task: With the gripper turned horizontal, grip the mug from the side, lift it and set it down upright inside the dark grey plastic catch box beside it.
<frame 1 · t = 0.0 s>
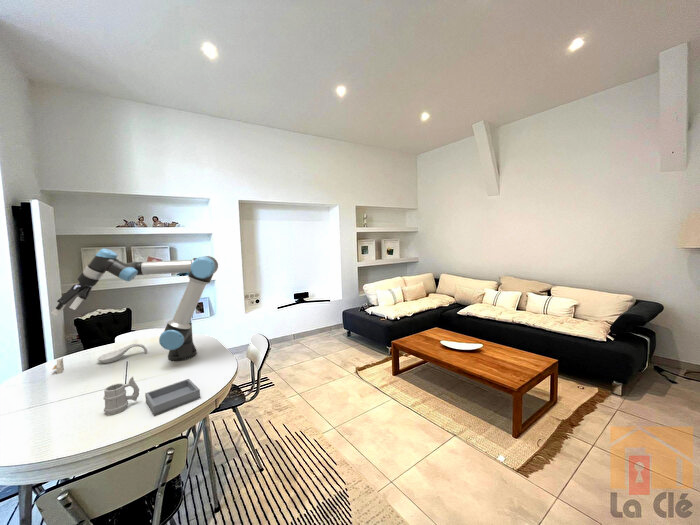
hand: (63, 311, 141), 36 cm above the table, tool tilted 35°, fingers open, 13 cm apart
architectural model: (60, 373, 154), on the table
catch box: (173, 400, 122), on the table
mug: (122, 408, 117), on the table
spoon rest: (123, 358, 171), on the table
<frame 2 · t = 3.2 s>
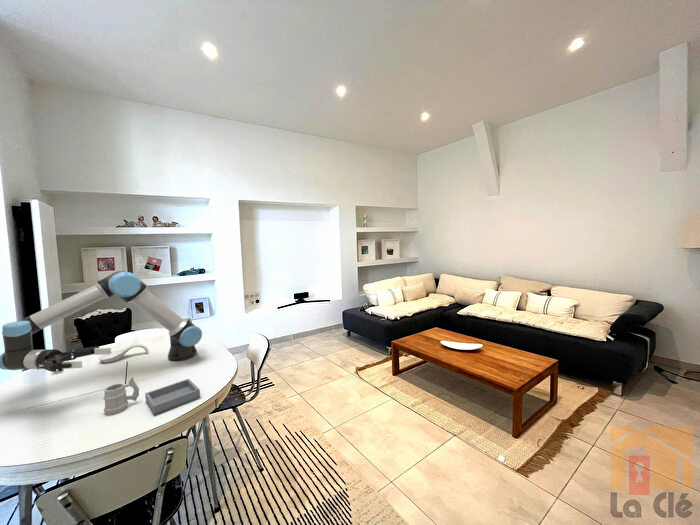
hand: (96, 357, 115), 22 cm above the table, tool horizontal, fingers open, 13 cm apart
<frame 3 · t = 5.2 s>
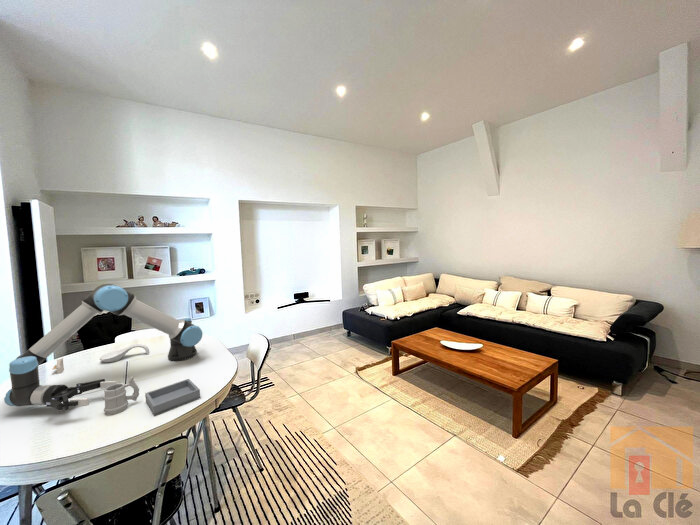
hand: (102, 392, 116), 7 cm above the table, tool horizontal, fingers open, 13 cm apart
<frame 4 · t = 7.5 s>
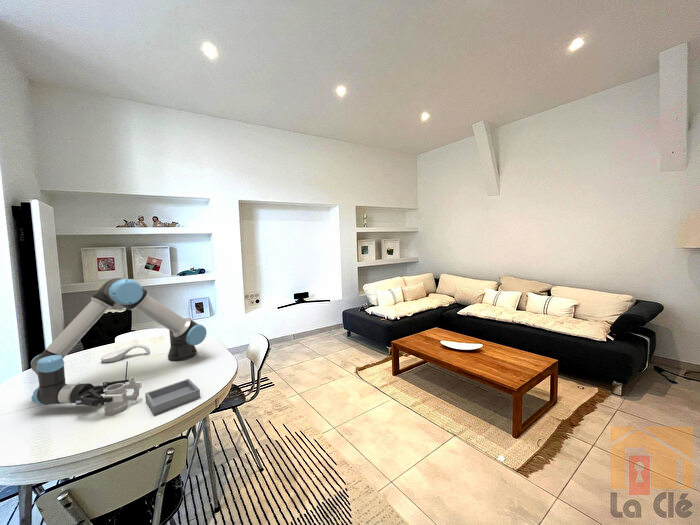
hand: (131, 391, 117), 7 cm above the table, tool horizontal, fingers closed on mug, 10 cm apart
mug: (123, 408, 117), on the table, touching gripper
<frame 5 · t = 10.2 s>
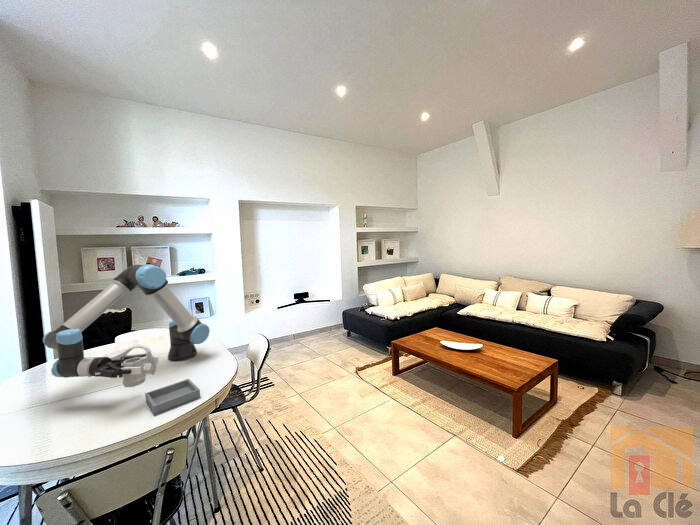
hand: (149, 364, 117), 18 cm above the table, tool horizontal, fingers closed on mug, 10 cm apart
mug: (140, 381, 117), point 11 cm above the table, touching gripper
when the fingers open (9 cm above the table, at t = 13.2 s): mug drops 1 cm, resting on catch box.
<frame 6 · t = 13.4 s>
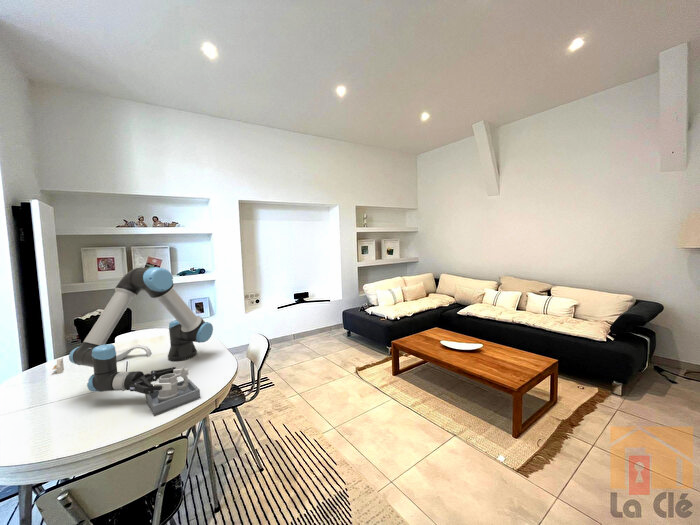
hand: (180, 378, 121), 9 cm above the table, tool horizontal, fingers open, 12 cm apart
mug: (173, 397, 122), point 1 cm above the table, touching catch box
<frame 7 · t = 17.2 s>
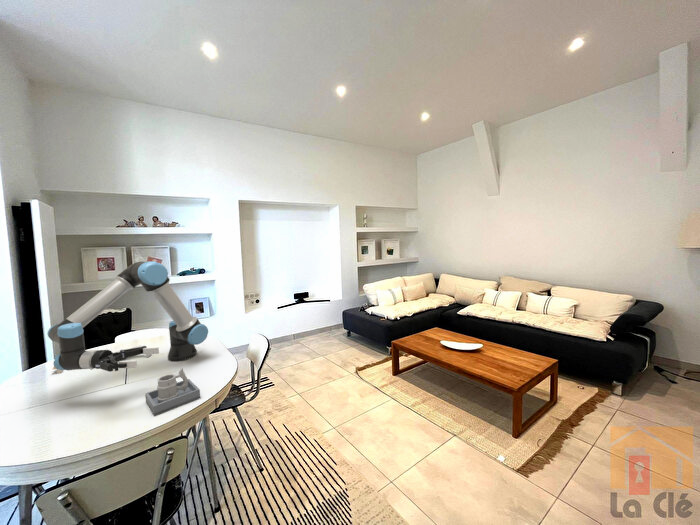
hand: (147, 356, 120), 20 cm above the table, tool horizontal, fingers open, 13 cm apart
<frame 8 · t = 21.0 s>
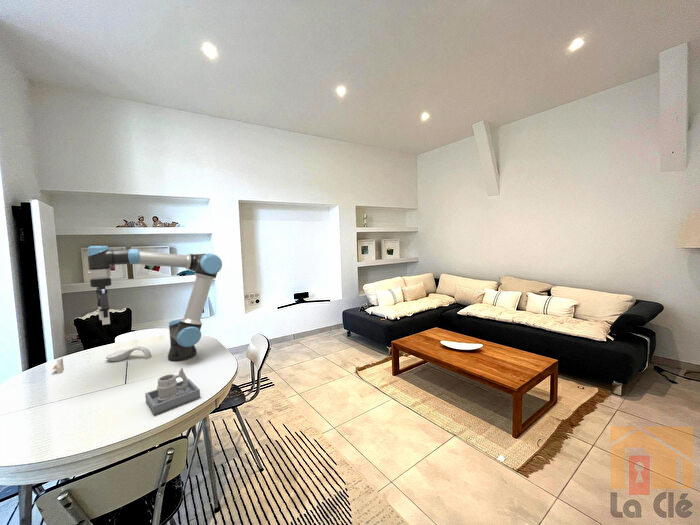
hand: (104, 321, 135), 32 cm above the table, tool pointing down, fingers open, 13 cm apart
at the end: mug inside the target area on the catch box (0.3 cm from its centre), point 0.8 cm above the catch box's base; mug tilted 0°; the gripper is holding nothing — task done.
